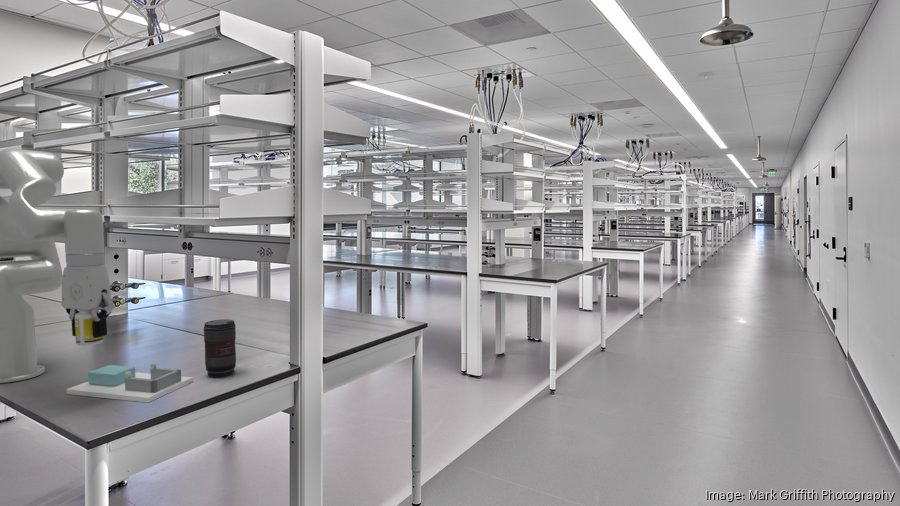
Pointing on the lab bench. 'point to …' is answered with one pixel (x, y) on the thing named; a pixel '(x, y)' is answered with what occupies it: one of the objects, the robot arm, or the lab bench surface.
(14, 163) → the robot arm
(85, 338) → the supplement bottle
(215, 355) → the camera lens
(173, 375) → the board
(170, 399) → the lab bench surface
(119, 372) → the block
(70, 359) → the lab bench surface
